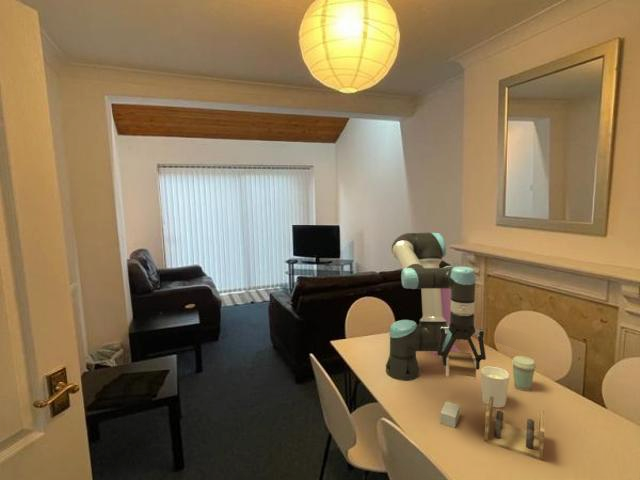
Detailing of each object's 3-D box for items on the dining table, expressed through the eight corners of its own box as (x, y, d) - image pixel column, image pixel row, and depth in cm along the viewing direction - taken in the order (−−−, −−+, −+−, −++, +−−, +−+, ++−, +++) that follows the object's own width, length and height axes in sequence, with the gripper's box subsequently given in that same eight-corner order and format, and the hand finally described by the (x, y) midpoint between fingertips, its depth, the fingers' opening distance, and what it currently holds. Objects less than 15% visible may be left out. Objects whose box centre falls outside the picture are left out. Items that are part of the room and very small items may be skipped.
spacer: (455, 428, 120) (455, 417, 119) (440, 423, 123) (440, 412, 122) (459, 415, 127) (460, 405, 126) (445, 411, 129) (445, 401, 129)
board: (475, 377, 113) (475, 368, 113) (449, 374, 115) (449, 365, 115) (470, 360, 124) (470, 352, 124) (447, 358, 127) (447, 350, 126)
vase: (463, 355, 174) (466, 287, 169) (432, 355, 174) (434, 287, 169) (452, 342, 189) (454, 279, 185) (423, 342, 189) (424, 280, 185)
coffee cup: (537, 393, 139) (539, 365, 138) (514, 391, 141) (516, 364, 139) (529, 382, 148) (531, 356, 146) (507, 380, 149) (509, 354, 148)
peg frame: (484, 441, 113) (485, 414, 112) (489, 421, 123) (490, 396, 122) (542, 460, 105) (544, 431, 103) (542, 437, 115) (544, 410, 113)
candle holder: (496, 412, 128) (498, 381, 127) (474, 398, 137) (475, 370, 135) (513, 404, 133) (515, 374, 131) (490, 391, 141) (491, 364, 140)
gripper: (430, 313, 117) (429, 377, 120) (498, 318, 111) (495, 385, 114) (429, 307, 124) (428, 367, 127) (493, 311, 118) (491, 374, 121)
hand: (460, 375), depth 120 cm, fingers closed on board, 8 cm apart
